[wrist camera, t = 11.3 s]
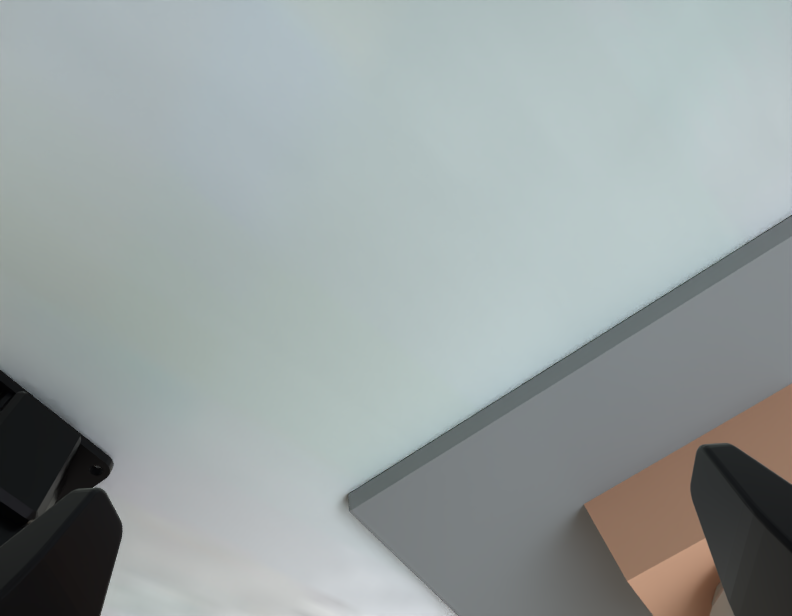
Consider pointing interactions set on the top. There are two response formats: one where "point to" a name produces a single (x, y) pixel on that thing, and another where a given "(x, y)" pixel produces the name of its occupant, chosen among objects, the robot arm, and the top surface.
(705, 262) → the top surface
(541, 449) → the baseplate
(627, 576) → the block
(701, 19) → the top surface
